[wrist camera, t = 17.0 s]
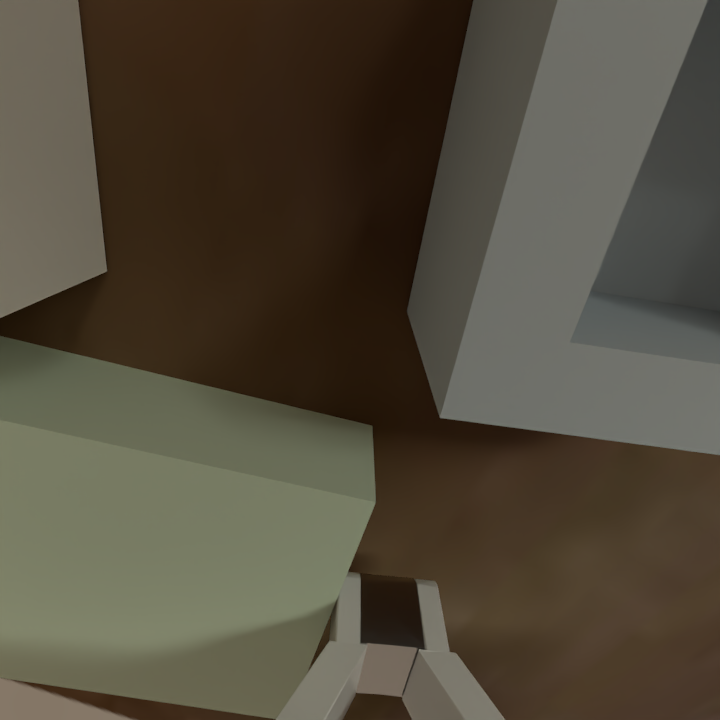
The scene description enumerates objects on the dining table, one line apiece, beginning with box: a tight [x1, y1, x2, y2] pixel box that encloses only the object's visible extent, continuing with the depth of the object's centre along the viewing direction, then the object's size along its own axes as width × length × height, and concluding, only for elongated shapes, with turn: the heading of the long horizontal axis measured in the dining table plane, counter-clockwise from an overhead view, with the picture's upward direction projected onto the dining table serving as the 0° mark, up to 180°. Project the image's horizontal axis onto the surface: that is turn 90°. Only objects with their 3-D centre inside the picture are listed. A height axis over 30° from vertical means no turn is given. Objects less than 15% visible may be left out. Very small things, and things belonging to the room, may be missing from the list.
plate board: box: [0, 336, 376, 719], centre depth 10 cm, size 12×8×2 cm, turn 74°
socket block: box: [407, 0, 720, 455], centre depth 6 cm, size 7×7×4 cm
